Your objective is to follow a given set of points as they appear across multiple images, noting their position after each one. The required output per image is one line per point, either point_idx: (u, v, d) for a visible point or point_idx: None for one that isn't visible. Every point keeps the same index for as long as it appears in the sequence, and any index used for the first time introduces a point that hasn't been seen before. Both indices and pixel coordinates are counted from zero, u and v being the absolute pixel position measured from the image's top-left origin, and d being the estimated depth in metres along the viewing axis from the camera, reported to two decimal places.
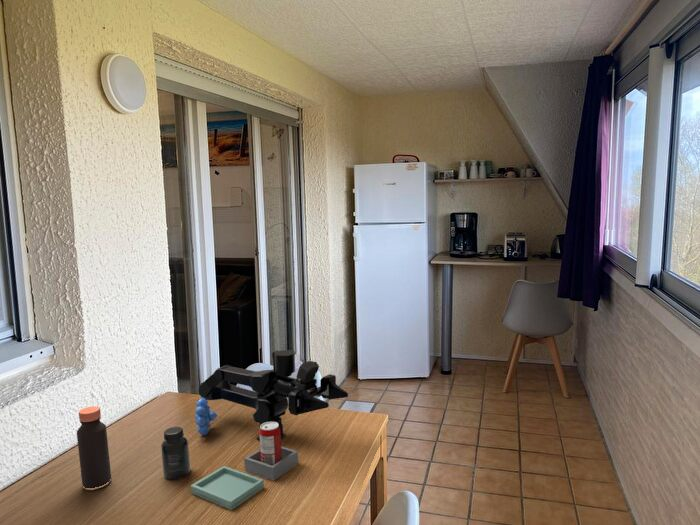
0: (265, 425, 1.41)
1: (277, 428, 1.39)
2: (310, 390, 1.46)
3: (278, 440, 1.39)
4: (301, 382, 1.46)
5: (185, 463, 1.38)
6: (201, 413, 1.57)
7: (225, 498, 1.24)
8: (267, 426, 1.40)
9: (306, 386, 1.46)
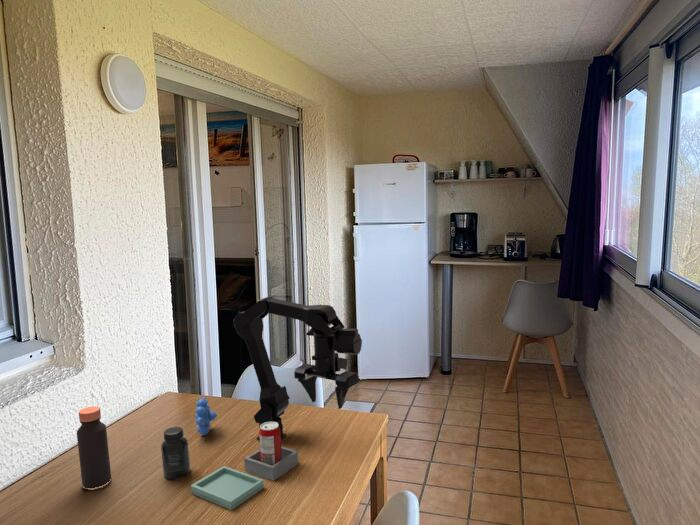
0: (265, 425, 1.41)
1: (277, 428, 1.39)
2: None
3: (278, 440, 1.39)
4: (339, 366, 1.49)
5: (185, 463, 1.38)
6: (201, 413, 1.57)
7: (225, 498, 1.24)
8: (267, 426, 1.40)
9: None
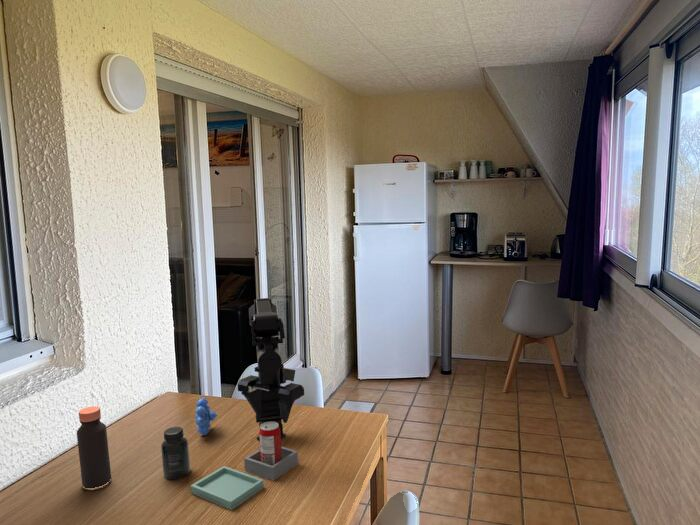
0: (265, 425, 1.41)
1: (277, 428, 1.39)
2: None
3: (278, 440, 1.39)
4: (285, 377, 1.41)
5: (185, 463, 1.38)
6: (201, 413, 1.57)
7: (225, 498, 1.24)
8: (267, 426, 1.40)
9: None
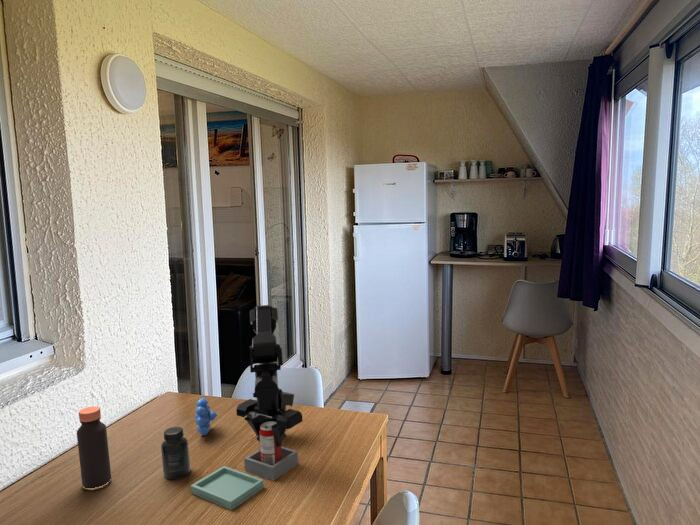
0: (265, 425, 1.41)
1: None
2: None
3: None
4: (284, 402, 1.41)
5: (185, 463, 1.38)
6: (201, 413, 1.57)
7: (225, 498, 1.24)
8: (267, 426, 1.40)
9: None
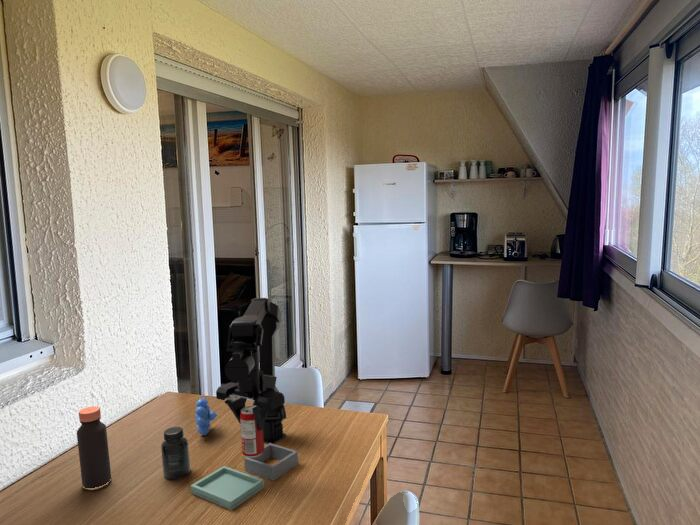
0: (246, 409, 1.36)
1: None
2: None
3: None
4: (265, 384, 1.36)
5: (185, 463, 1.38)
6: (201, 413, 1.57)
7: (225, 498, 1.24)
8: (248, 410, 1.35)
9: None
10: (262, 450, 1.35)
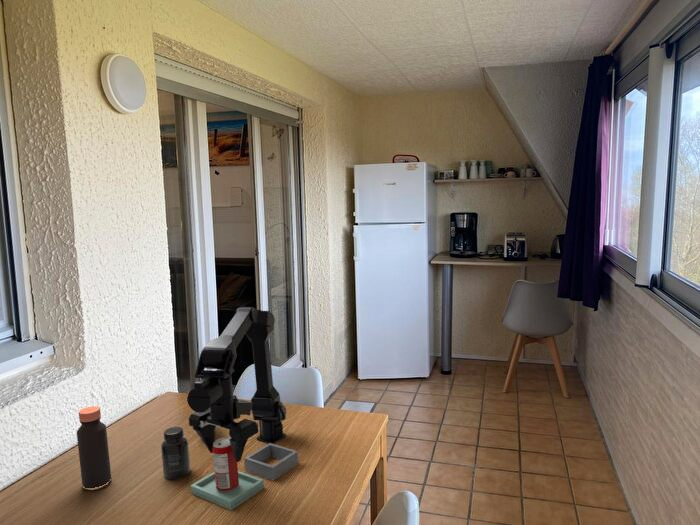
0: (219, 441, 1.30)
1: None
2: None
3: (233, 458, 1.29)
4: (240, 412, 1.30)
5: (185, 463, 1.38)
6: None
7: (225, 498, 1.24)
8: (221, 443, 1.30)
9: None
10: (236, 484, 1.30)
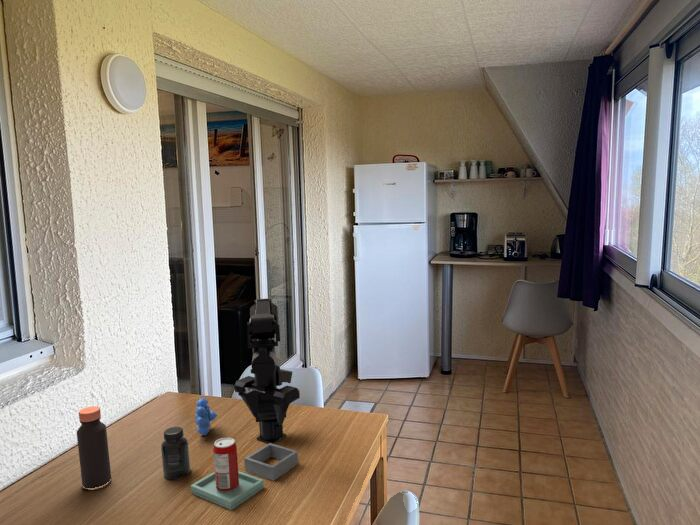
0: (220, 441, 1.30)
1: (232, 445, 1.29)
2: None
3: (233, 458, 1.29)
4: (281, 379, 1.41)
5: (185, 463, 1.38)
6: (201, 413, 1.57)
7: (225, 498, 1.24)
8: (222, 443, 1.30)
9: None
10: (236, 484, 1.30)
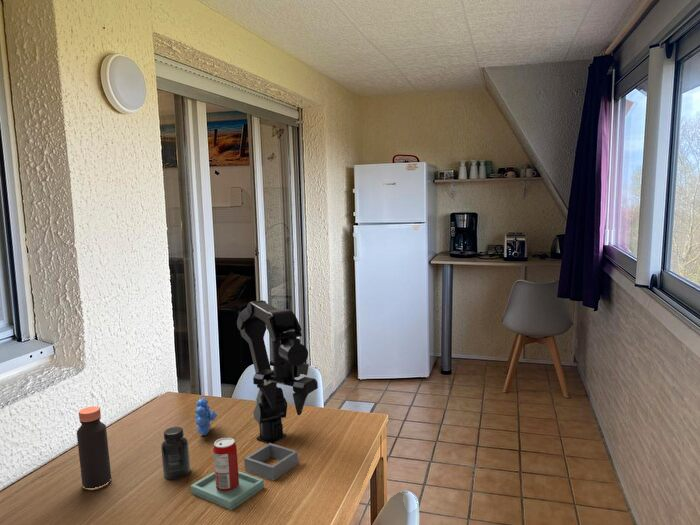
0: (220, 441, 1.30)
1: (232, 445, 1.29)
2: None
3: (233, 458, 1.29)
4: (299, 371, 1.46)
5: (185, 463, 1.38)
6: (201, 413, 1.57)
7: (225, 498, 1.24)
8: (222, 443, 1.30)
9: None
10: (236, 484, 1.30)
